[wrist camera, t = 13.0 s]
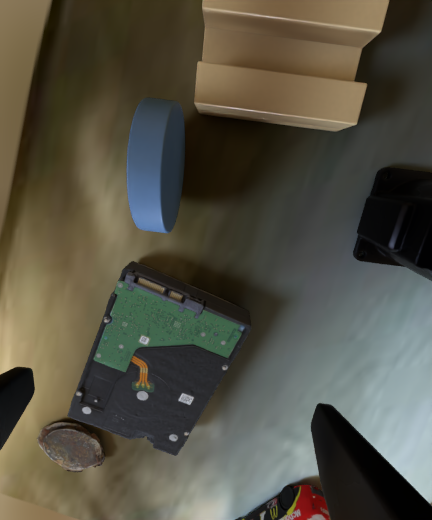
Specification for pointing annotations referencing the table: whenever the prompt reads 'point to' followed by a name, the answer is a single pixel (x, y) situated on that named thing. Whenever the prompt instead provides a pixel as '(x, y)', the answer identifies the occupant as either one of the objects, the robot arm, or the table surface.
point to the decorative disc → (71, 446)
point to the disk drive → (157, 358)
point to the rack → (286, 60)
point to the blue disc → (156, 164)
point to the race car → (294, 505)
